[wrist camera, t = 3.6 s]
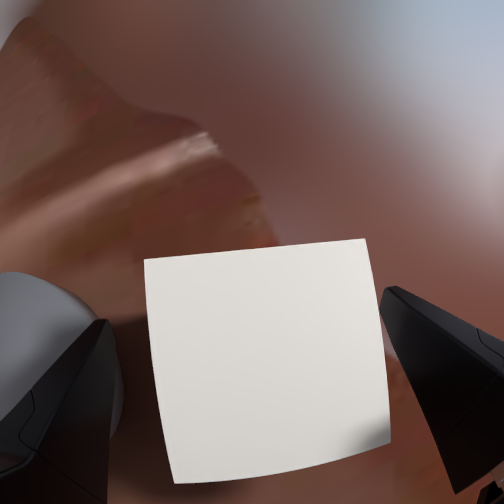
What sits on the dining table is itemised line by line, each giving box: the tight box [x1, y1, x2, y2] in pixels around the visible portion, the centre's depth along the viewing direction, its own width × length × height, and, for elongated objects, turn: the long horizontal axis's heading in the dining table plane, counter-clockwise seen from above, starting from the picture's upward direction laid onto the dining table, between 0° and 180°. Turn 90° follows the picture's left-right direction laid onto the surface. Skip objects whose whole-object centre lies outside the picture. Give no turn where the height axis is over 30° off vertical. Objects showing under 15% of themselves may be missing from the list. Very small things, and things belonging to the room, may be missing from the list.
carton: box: [144, 239, 391, 483], centre depth 11 cm, size 5×5×10 cm
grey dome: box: [0, 272, 124, 439], centre depth 12 cm, size 11×11×3 cm
